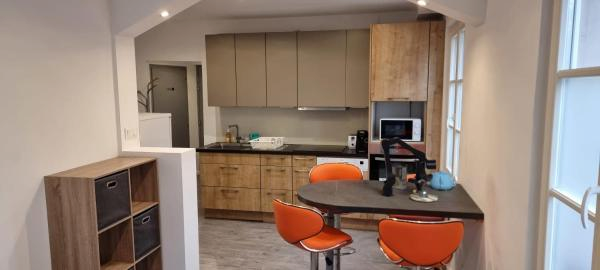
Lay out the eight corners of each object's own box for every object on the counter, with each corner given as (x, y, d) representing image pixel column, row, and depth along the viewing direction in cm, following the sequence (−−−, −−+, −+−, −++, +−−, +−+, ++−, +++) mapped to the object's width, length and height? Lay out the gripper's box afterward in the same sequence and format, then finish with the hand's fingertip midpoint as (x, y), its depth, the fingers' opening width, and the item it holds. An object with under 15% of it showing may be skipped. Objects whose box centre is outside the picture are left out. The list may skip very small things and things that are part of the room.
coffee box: (407, 188, 297) (407, 166, 295) (401, 189, 293) (402, 168, 291) (396, 186, 304) (397, 165, 302) (391, 187, 299) (392, 166, 298)
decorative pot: (439, 192, 285) (440, 173, 283) (425, 187, 300) (425, 169, 298) (457, 190, 291) (458, 172, 289) (442, 185, 306) (443, 168, 304)
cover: (424, 198, 261) (424, 192, 261) (416, 196, 266) (417, 190, 266) (430, 196, 265) (430, 191, 264) (422, 195, 270) (422, 189, 269)
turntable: (426, 203, 254) (426, 196, 253) (404, 197, 268) (404, 191, 268) (443, 199, 264) (443, 192, 264) (421, 193, 279) (421, 187, 278)
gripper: (421, 172, 260) (420, 196, 261) (438, 169, 271) (437, 192, 272) (407, 170, 269) (406, 192, 270) (424, 167, 280) (424, 188, 281)
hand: (419, 191), depth 273 cm, fingers closed
